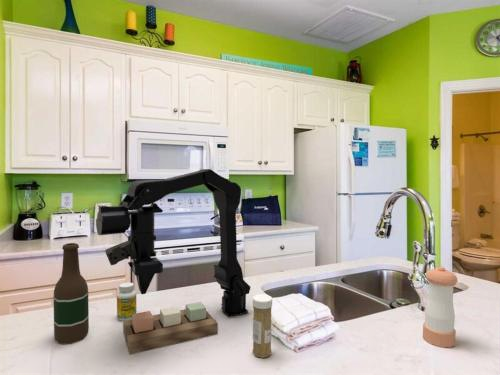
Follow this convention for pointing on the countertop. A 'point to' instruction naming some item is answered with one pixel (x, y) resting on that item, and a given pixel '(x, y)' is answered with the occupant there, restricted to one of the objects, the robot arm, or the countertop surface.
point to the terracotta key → (142, 321)
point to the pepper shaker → (440, 308)
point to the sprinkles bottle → (262, 325)
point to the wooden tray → (168, 333)
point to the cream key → (170, 316)
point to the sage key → (195, 311)
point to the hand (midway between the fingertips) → (142, 292)
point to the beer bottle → (71, 300)
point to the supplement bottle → (126, 301)
